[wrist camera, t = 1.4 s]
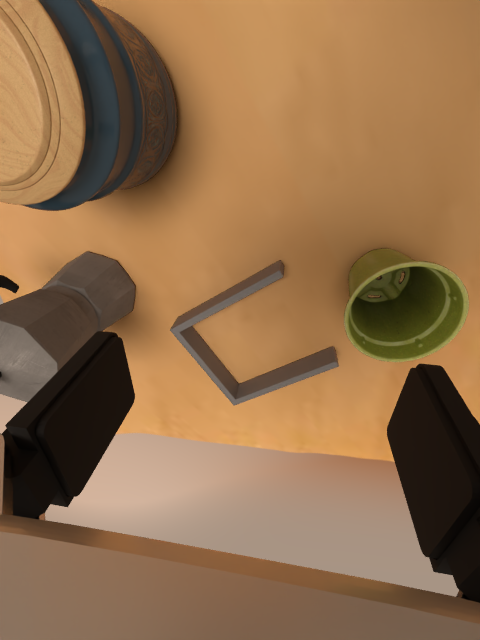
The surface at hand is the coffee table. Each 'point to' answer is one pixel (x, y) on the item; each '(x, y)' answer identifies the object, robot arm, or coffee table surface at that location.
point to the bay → (214, 366)
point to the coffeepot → (58, 320)
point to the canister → (78, 104)
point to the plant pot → (402, 306)
